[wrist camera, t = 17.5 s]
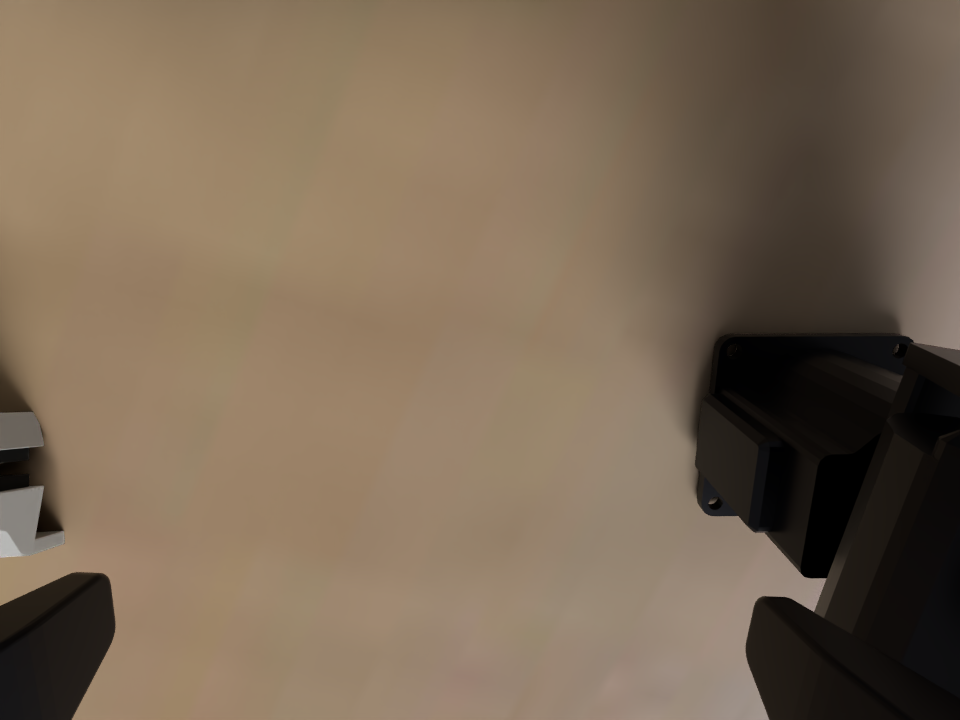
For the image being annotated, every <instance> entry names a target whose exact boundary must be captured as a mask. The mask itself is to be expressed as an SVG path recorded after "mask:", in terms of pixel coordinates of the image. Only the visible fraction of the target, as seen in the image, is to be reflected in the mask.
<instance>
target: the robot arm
mask: <svg viewBox="0 0 960 720" xmlns="http://www.w3.org/2000/svg"><path fill="white" fill-rule="evenodd" d="M733 344H736V347H737V349H736V352H735V353H734V354H733V355H730V356H727V349H728V347H729V346H731V345H733ZM897 344H899V349H898V351H897V352H896V353H895V354H894V355H893V353H892V351H893V349H894V347H895V346H896V345H897ZM695 466H696V468H697V469H698V470H699V471H700V477H699V486H698V495H697V502H698V504H699V506H700V507H701V509H702V510H703V511H704V512H705V513H706V514H708V515H710V516H739V517H740V518H741V520H742V521H743V522H744V523H745V524H746V525H747V526H748V527H749V528H750V529H751V530H752V531H753V532H755V533H762V532H764V533H765V534H766V535H767V536H768V537H769V538H770V539H771V541H772V542H773V543H774V544H775V545H776V546H777V547H778V548H779V549H780V551H781V552H782V553H783V554H784V555H785V556H786V557H787V558H788V559H789V561H790V562H791V563H792V564H793V565H794V566H795V567H796V568H797V569H798V571H799V572H800V573H801V574H802V575H803V576H804V577H807V578H827V579H826V582H825V585H824V587H823V590H822V593H821V595H820V598H819V601H818V603H817V606H816V609H815V611H814V612H813V611H811V610H809V609H808V608H806V607H804V606H802V605H801V604H799V603H797V602H796V601H794V600H792V599H790V598H787V597H768V596H763V597H760V598H759V599H757V601H756V602H755V605H754V609H753V613H752V618H751V623H750V627H749V632H748V636H747V641H746V657H747V661H748V664H749V667H750V670H751V672H752V675H753V678H754V680H755V683H756V686H757V688H758V691H759V694H760V696H761V699H762V701H763V704H764V707H765V709H766V712H767V715H768V717H769V720H960V350H955V349H949V348H943V347H937V346H931V345H925V344H919V343H914V342H913V340H912V339H910V338H909V337H906V336H903V335H900V334H895V333H840V334H727V335H724V336H722V337H721V338H719V340H718V341H717V342H716V344H715V347H714V354H713V363H712V372H711V380H710V389H709V394H708V395H707V396H706V397H705V398H704V399H703V400H702V406H701V415H700V424H699V433H698V442H697V451H696V460H695ZM713 497H718V499H717V501H716V502H715V503H714V504H708V503H709V501H710V500H711V499H712V498H713ZM114 633H115V615H114V607H113V599H112V591H111V584H110V580H109V578H108V577H107V576H106V575H105V574H103V573H86V572H75V573H71V574H68V575H66V576H64V577H62V578H60V579H58V580H55V581H53V582H51V583H49V584H47V585H45V586H42V587H40V588H38V589H36V590H34V591H31V592H29V593H27V594H25V595H23V596H21V597H18V598H16V599H14V600H12V601H10V602H8V603H5V604H3V605H1V606H0V720H72V718H73V716H74V714H75V712H76V710H77V708H78V706H79V705H80V703H81V701H82V699H83V697H84V695H85V693H86V691H87V689H88V687H89V685H90V683H91V682H92V680H93V678H94V676H95V674H96V672H97V670H98V668H99V666H100V664H101V662H102V660H103V659H104V657H105V655H106V653H107V651H108V649H109V647H110V645H111V643H112V640H113V637H114Z"/></svg>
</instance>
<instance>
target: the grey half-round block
mask: <svg viewBox="0 0 960 720" xmlns="http://www.w3.org/2000/svg"><path fill="white" fill-rule="evenodd" d="M40 446H44V442H43V437H42V432H41V428H40V424H39V422H38V420H37V418H36V416H35V415H34V413H33V412H0V463H7V462H16V461H25V460H29V447H40ZM43 490H44V485H41V486H29V474H19V475H4V476H0V557H14V556H30V555H33V554H36V553H39V552H42V551H45V550H48V549H51V548H54V547H57V546H60V545H62V544H64V542H65V538H64V531H49V532H36V530H37V524H38V519H39V513H40V507H41V502H42V496H43Z"/></svg>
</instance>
